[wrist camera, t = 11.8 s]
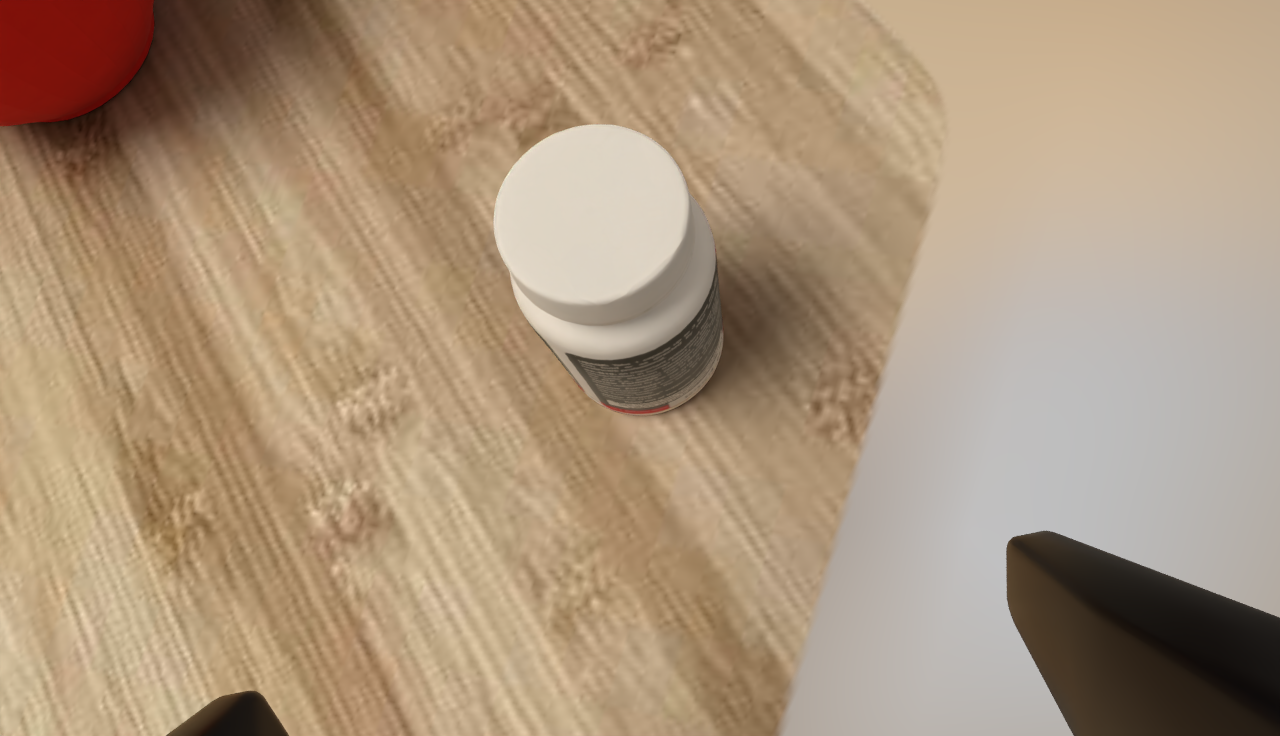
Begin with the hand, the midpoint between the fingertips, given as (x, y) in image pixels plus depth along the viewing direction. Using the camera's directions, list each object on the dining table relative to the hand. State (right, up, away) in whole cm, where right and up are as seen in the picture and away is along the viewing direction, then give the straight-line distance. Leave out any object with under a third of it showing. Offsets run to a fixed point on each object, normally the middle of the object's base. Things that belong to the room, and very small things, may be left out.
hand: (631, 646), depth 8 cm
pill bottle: (0, +4, +16) cm, 16 cm away
